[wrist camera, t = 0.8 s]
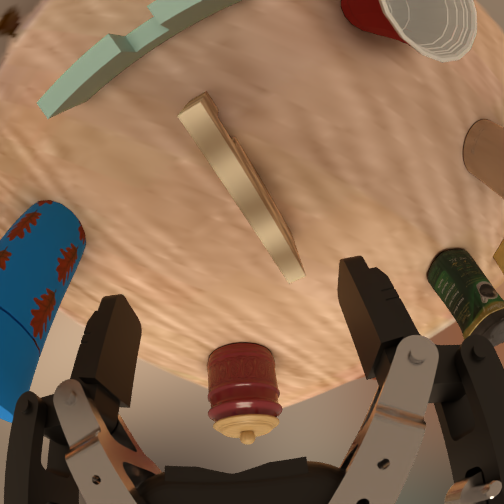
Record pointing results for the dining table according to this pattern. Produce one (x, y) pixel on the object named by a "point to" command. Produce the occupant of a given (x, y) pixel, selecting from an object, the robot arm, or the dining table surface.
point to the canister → (243, 391)
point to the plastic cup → (419, 24)
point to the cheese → (500, 256)
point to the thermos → (33, 290)
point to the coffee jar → (468, 295)
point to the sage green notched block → (124, 51)
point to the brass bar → (242, 183)
